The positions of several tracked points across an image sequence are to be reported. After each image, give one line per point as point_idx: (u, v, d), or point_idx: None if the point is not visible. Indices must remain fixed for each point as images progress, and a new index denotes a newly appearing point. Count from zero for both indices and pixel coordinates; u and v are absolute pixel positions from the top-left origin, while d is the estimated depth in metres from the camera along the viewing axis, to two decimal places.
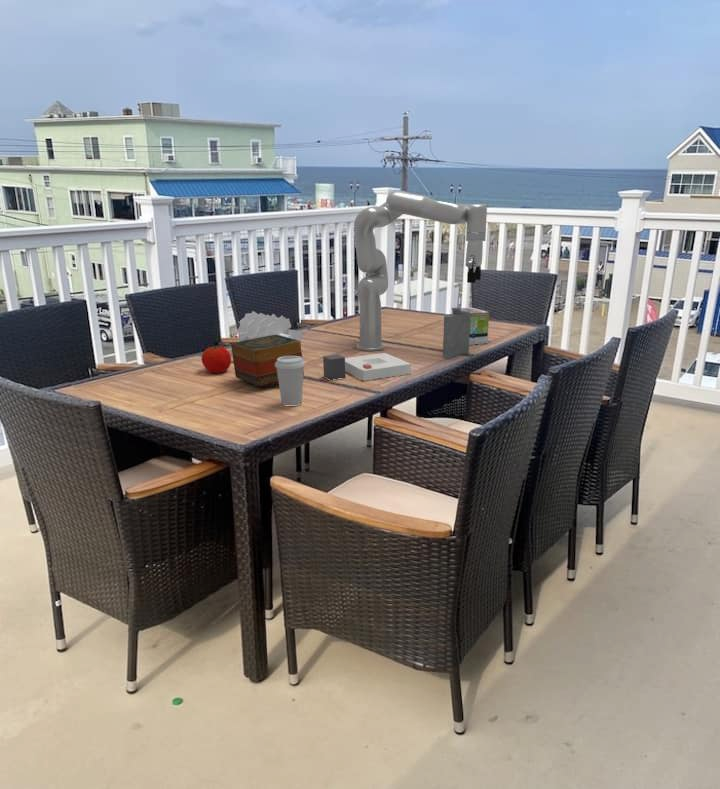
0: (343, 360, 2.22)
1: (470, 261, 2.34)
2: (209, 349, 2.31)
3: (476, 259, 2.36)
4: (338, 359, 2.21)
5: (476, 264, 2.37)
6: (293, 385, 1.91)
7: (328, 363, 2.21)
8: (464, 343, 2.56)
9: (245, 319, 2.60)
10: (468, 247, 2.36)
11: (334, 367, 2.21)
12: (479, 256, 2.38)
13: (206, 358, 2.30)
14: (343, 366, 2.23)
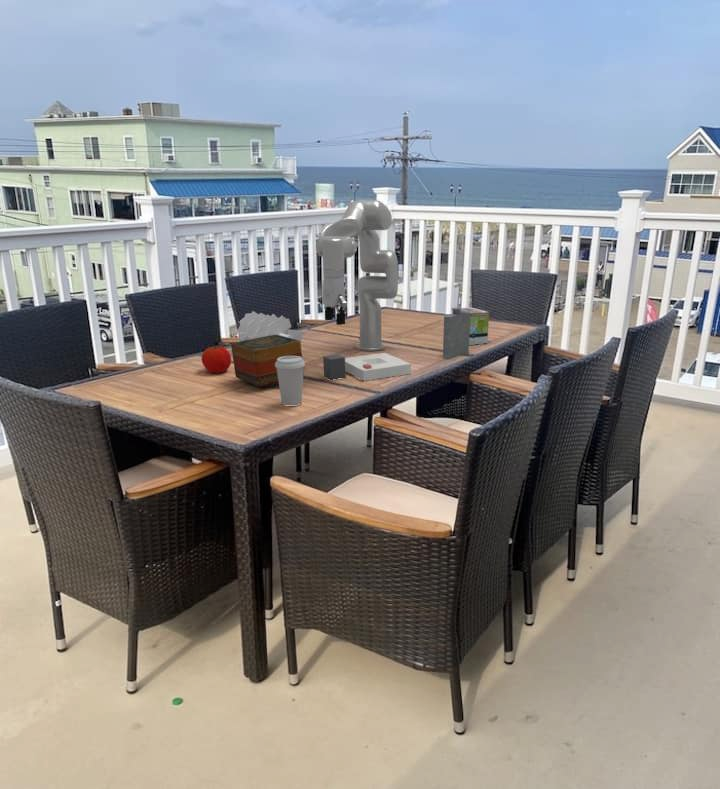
0: (343, 360, 2.22)
1: (344, 301, 2.10)
2: (209, 349, 2.31)
3: (344, 298, 2.13)
4: (338, 359, 2.21)
5: None
6: (293, 385, 1.91)
7: (328, 363, 2.21)
8: (464, 343, 2.56)
9: (245, 319, 2.60)
10: (335, 286, 2.11)
11: (334, 367, 2.21)
12: None
13: (206, 358, 2.30)
14: (343, 366, 2.23)
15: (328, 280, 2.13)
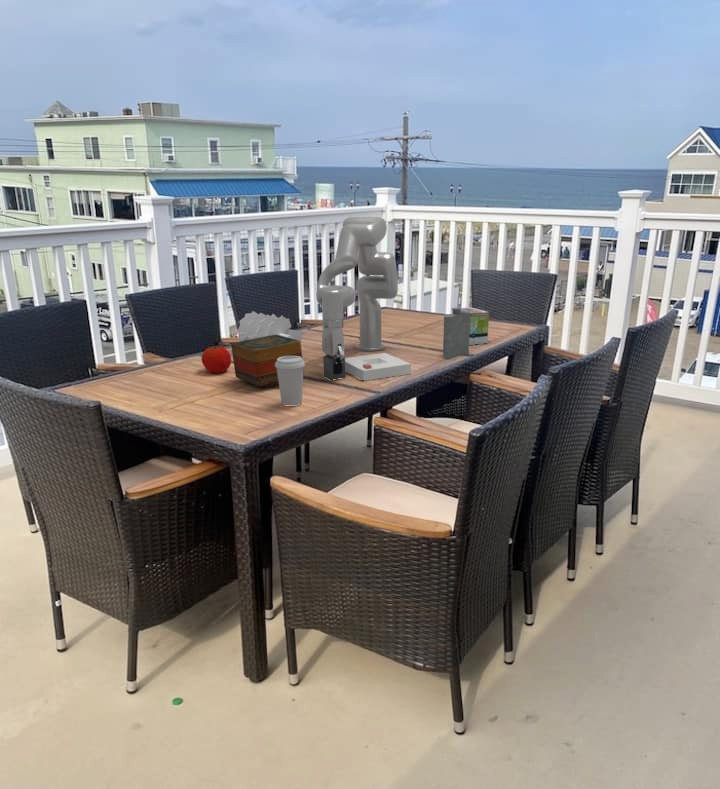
0: (343, 360, 2.22)
1: (342, 354, 2.16)
2: (209, 349, 2.31)
3: (343, 347, 2.18)
4: None
5: (343, 352, 2.19)
6: (293, 385, 1.91)
7: (328, 363, 2.21)
8: (464, 343, 2.56)
9: (245, 319, 2.60)
10: (334, 336, 2.16)
11: None
12: None
13: (206, 358, 2.30)
14: (343, 366, 2.23)
15: (327, 330, 2.18)
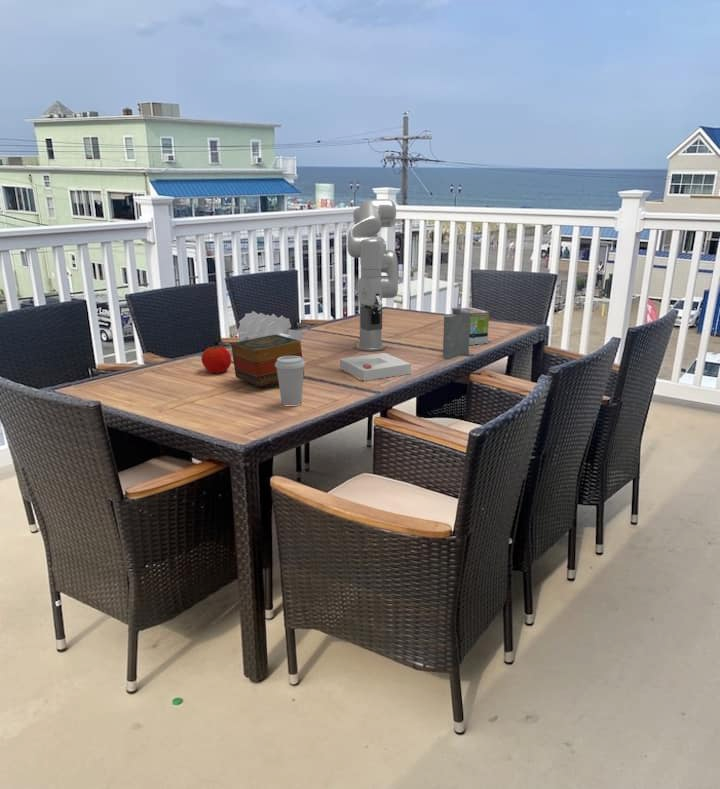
0: (380, 310, 2.24)
1: (380, 304, 2.18)
2: (209, 349, 2.31)
3: (381, 297, 2.20)
4: None
5: None
6: (293, 385, 1.91)
7: (365, 313, 2.23)
8: (464, 343, 2.56)
9: (245, 319, 2.60)
10: (372, 285, 2.18)
11: None
12: None
13: (206, 358, 2.30)
14: (380, 316, 2.24)
15: (366, 279, 2.20)
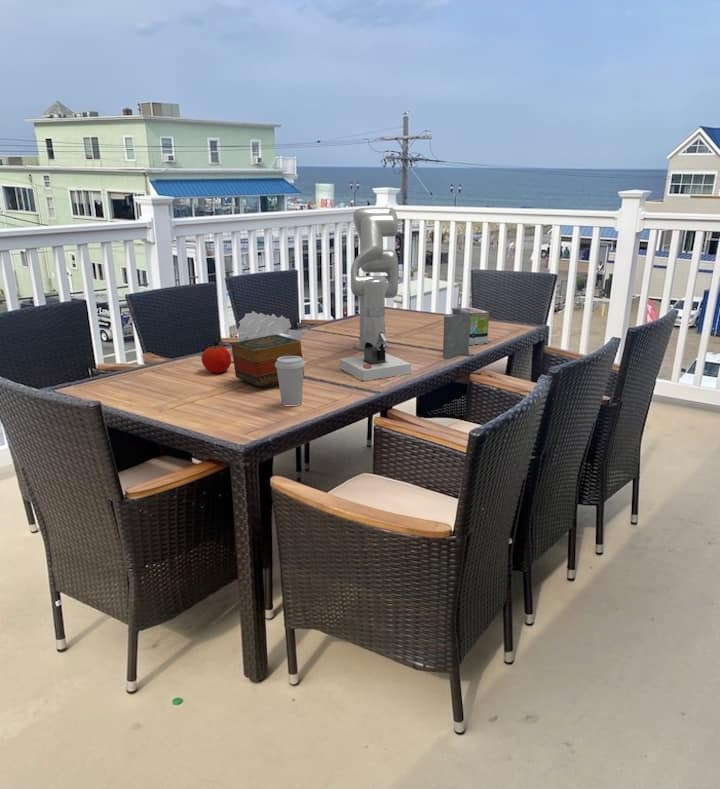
0: None
1: (385, 339, 2.22)
2: (209, 349, 2.31)
3: (384, 335, 2.25)
4: None
5: None
6: (293, 385, 1.91)
7: (369, 354, 2.28)
8: (464, 343, 2.56)
9: (245, 319, 2.60)
10: (376, 324, 2.22)
11: (375, 358, 2.28)
12: None
13: (206, 358, 2.30)
14: None
15: (369, 318, 2.24)
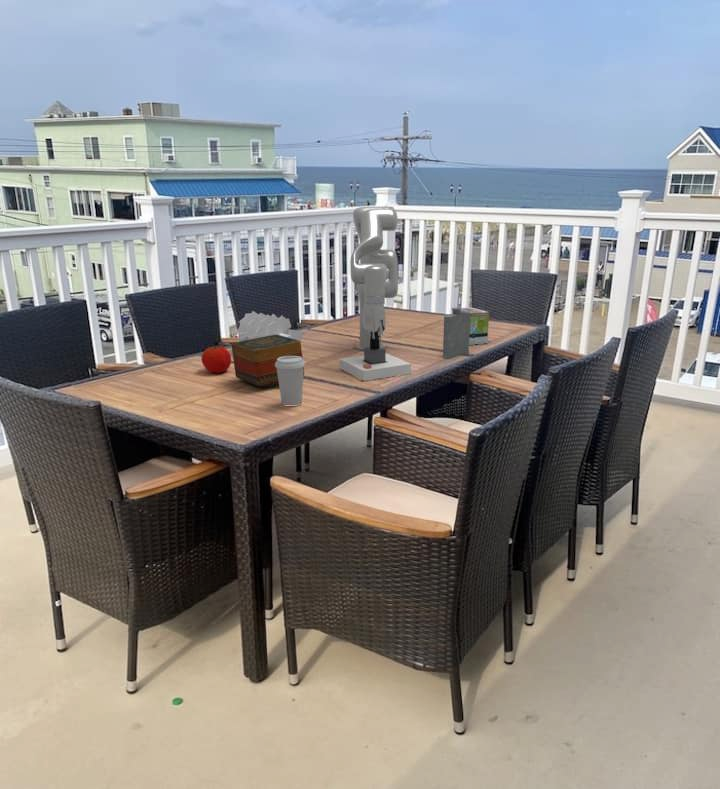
0: (383, 352, 2.29)
1: (381, 333, 2.24)
2: (209, 349, 2.31)
3: None
4: (379, 351, 2.28)
5: (384, 328, 2.24)
6: (293, 385, 1.91)
7: (369, 354, 2.28)
8: (464, 343, 2.56)
9: (245, 319, 2.60)
10: (376, 312, 2.21)
11: (375, 358, 2.28)
12: None
13: (206, 358, 2.30)
14: (383, 357, 2.30)
15: (369, 306, 2.23)
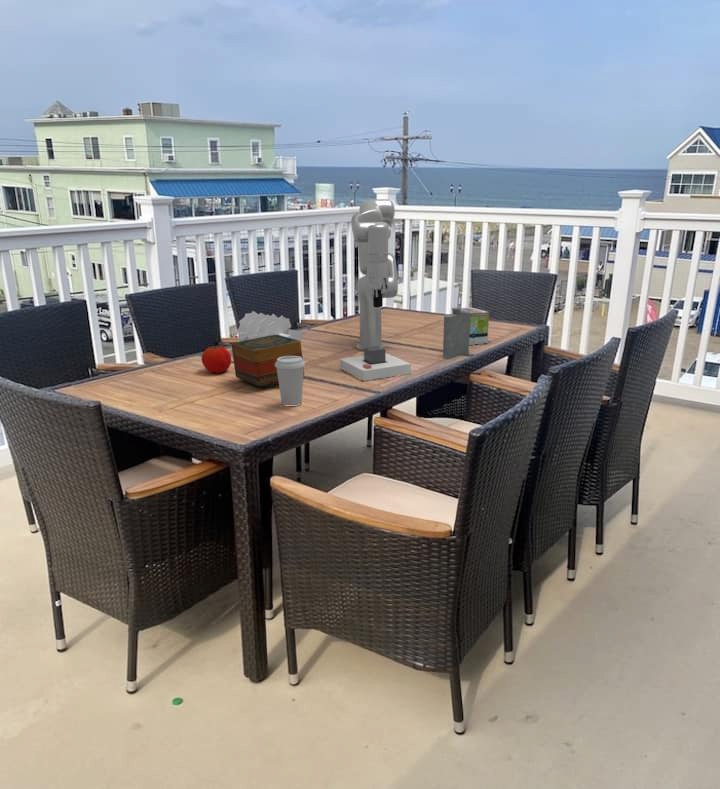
0: (383, 352, 2.29)
1: (384, 291, 2.27)
2: (209, 349, 2.31)
3: (388, 281, 2.27)
4: (379, 351, 2.28)
5: (388, 286, 2.28)
6: (293, 385, 1.91)
7: (369, 354, 2.28)
8: (464, 343, 2.56)
9: (245, 319, 2.60)
10: (379, 270, 2.24)
11: (375, 358, 2.28)
12: None
13: (206, 358, 2.30)
14: (383, 357, 2.30)
15: (373, 264, 2.26)
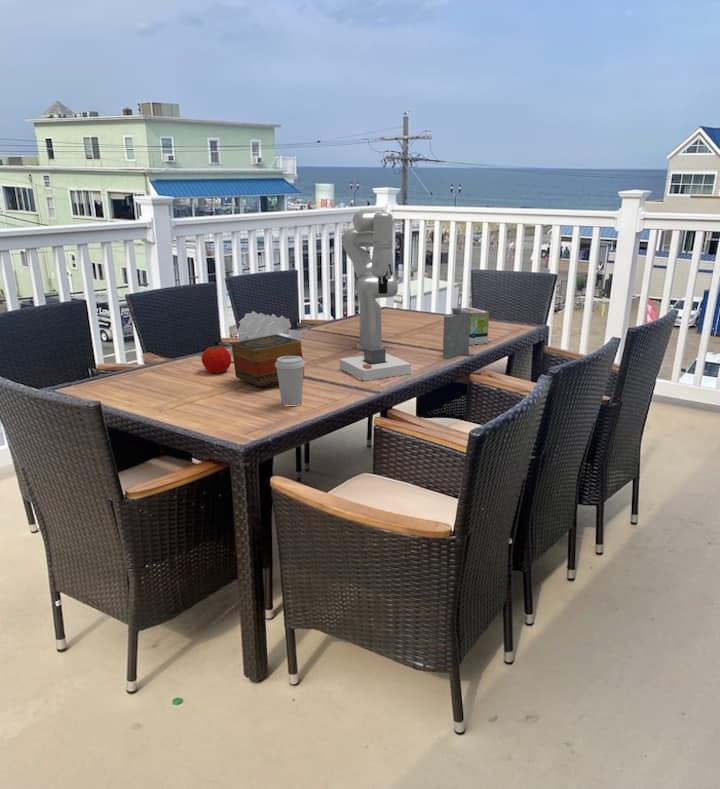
0: (383, 352, 2.29)
1: (389, 277, 2.36)
2: (209, 349, 2.31)
3: (392, 268, 2.36)
4: (379, 351, 2.28)
5: (392, 273, 2.37)
6: (293, 385, 1.91)
7: (369, 354, 2.28)
8: (464, 343, 2.56)
9: (245, 319, 2.60)
10: (384, 256, 2.34)
11: (375, 358, 2.28)
12: None
13: (206, 358, 2.30)
14: (383, 357, 2.30)
15: (378, 251, 2.36)
